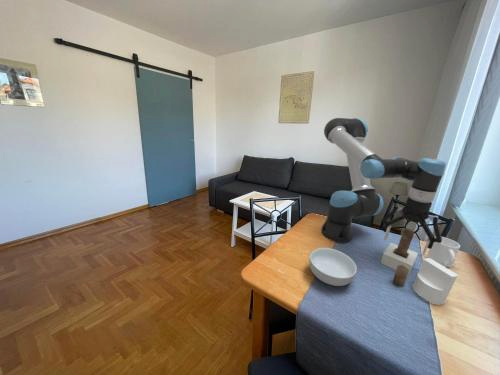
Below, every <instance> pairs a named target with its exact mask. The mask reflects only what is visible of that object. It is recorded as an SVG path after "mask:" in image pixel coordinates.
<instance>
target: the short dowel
mask: <svg viewBox="0 0 500 375" xmlns="http://www.w3.org/2000/svg"><path fill="white" fill-rule="evenodd" d="M408 273H409V269H408V268H406V267H404V266H402V265H398V266H397V269H396V270H395V272H394V274H393V278H392V281H391V282H392V284H393V285H395V286H396V287H398V288H403V287H404V286H405V283H406V280H407V277H408V276H407V275H408Z"/></svg>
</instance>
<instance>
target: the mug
mask: <svg viewBox="0 0 500 375" xmlns="http://www.w3.org/2000/svg"><path fill="white" fill-rule="evenodd" d="M434 237H435V238H436V236H434ZM441 237H442V241H441V243H438V242H434V243H433V246H432V248H431V249H429V250H428V252H427V254H426V255H427V257H426V258H431V259H432V260H434V261H436V262H437V263H439V264H441V265H442V266H444V267H446V268H450V267H452V266H454V264H455V262H456V257H457V254H458V252H459V250H460V248H461V244H459V243H458V242H457V241H455V240H453V239H451V238H448V237H445V236H441Z"/></svg>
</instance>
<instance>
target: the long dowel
mask: <svg viewBox="0 0 500 375" xmlns="http://www.w3.org/2000/svg"><path fill="white" fill-rule="evenodd" d="M414 235H415V231H414V230H412V229H409V228H404V229H403V231H402V233H401V237H400V240H399V242H398V244H397V245H398V248H397V251H396V253H395V254H397V255H399V256H401V257H404V258H405V257H406V254H407V251H408V249H409V250H410V246H411V242H412V240H413V237H414Z"/></svg>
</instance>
